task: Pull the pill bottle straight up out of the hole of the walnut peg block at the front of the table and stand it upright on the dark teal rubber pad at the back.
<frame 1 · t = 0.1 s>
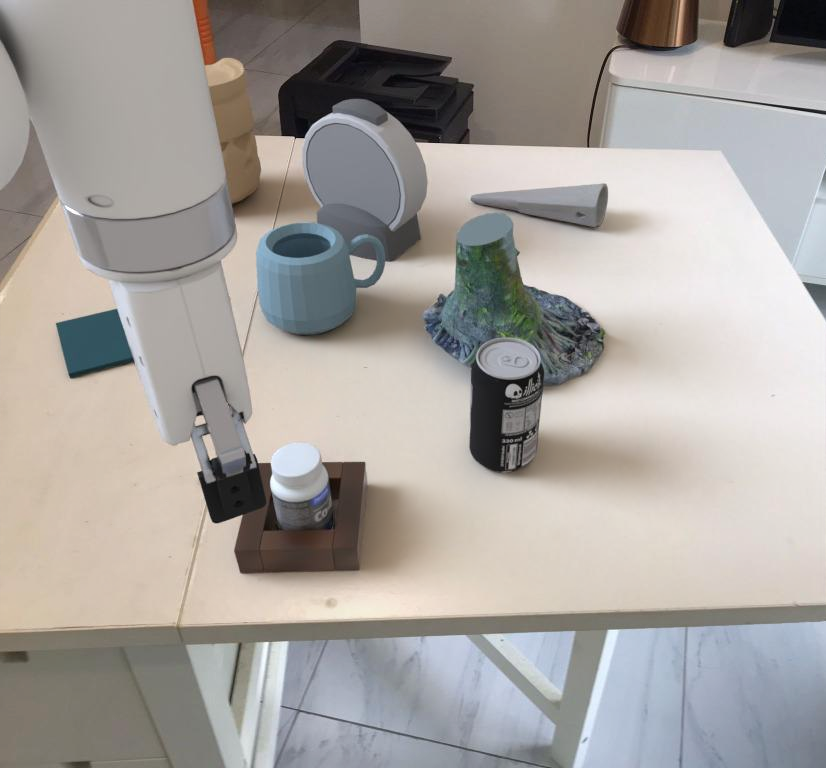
hand: (217, 459, 51), 19 cm above the table, tool pointing down, fingers open, 9 cm apart
alarm clock: (369, 237, 109), on the table
container: (220, 198, 115), on the table
mug: (327, 312, 95), on the table
mat: (112, 339, 89), on the table
long tapered cone: (537, 210, 117), on the table
pill bottle: (307, 527, 71), resting in peg block
peg block: (307, 525, 71), on the table
tree stump: (514, 343, 93), on the table
beverage can: (502, 453, 79), on the table
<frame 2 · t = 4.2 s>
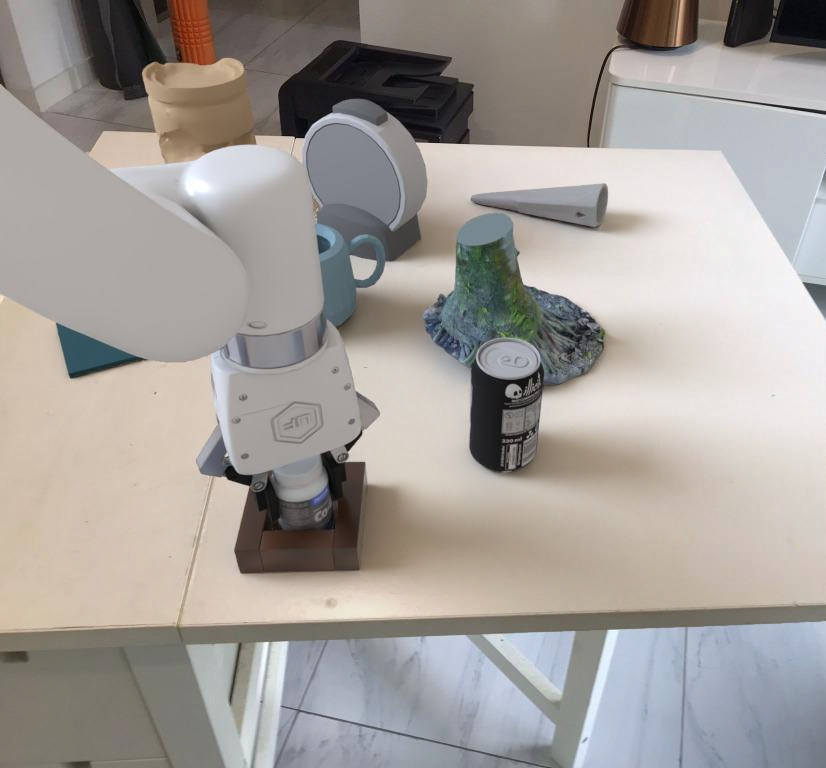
hand: (302, 497, 68), 4 cm above the table, tool pointing down, fingers closed on pill bottle, 4 cm apart
pill bottle: (307, 527, 71), resting in peg block, touching gripper
everything else where it was.
when the fingers open (4 cm above the table, at t = 12.1 s): pill bottle stays where it is, resting on mat.
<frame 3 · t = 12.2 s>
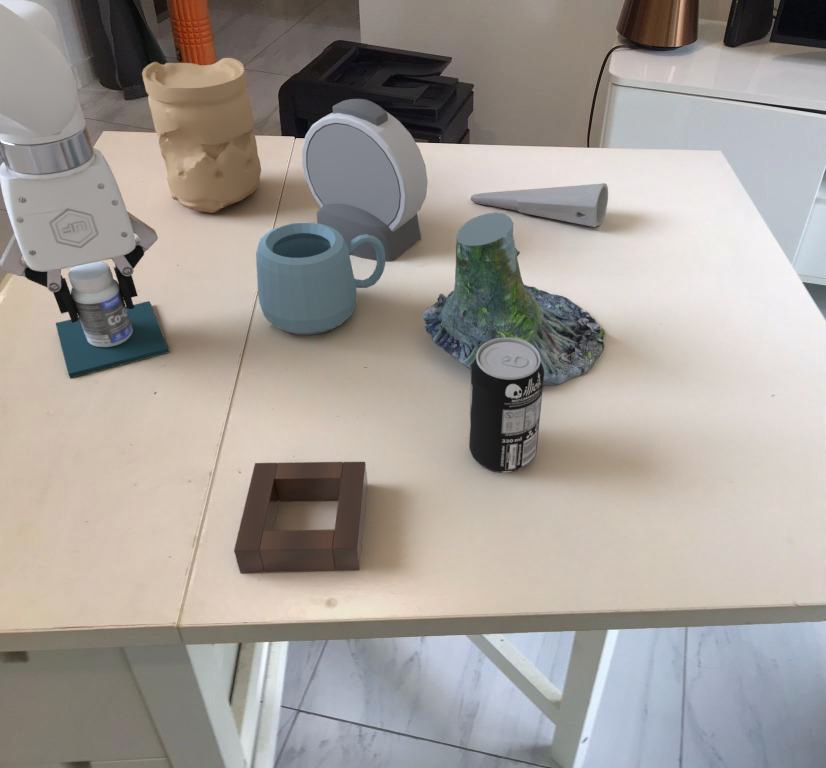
hand: (101, 307, 86), 4 cm above the table, tool pointing down, fingers open, 4 cm apart
pill bottle: (111, 337, 89), resting on mat
everything else where it was.
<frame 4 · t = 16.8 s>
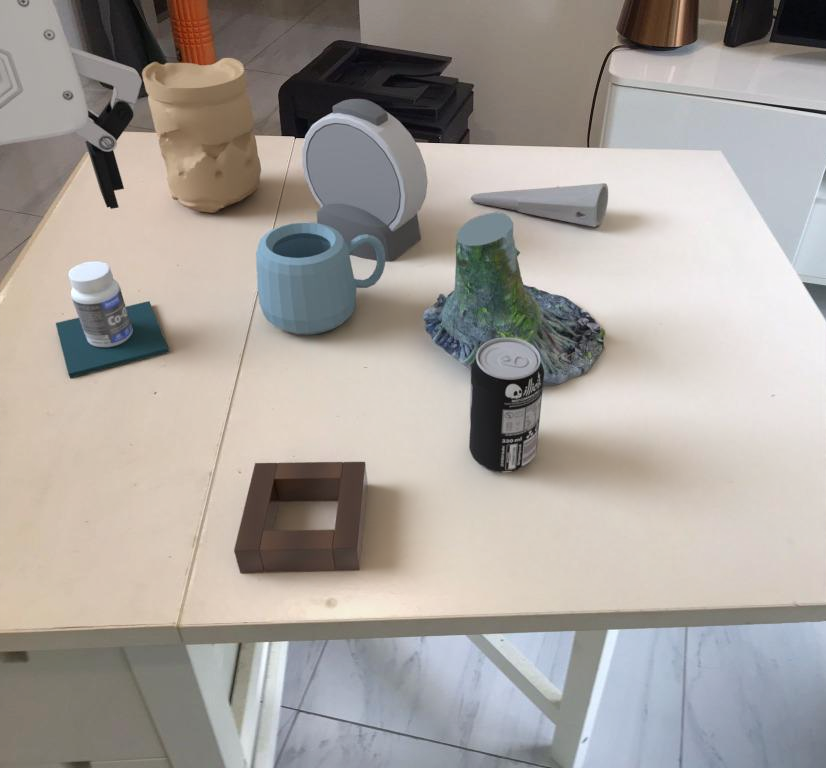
hand: (33, 214, 54), 28 cm above the table, tool pointing down, fingers open, 9 cm apart
nothing on the table moved.
at the end: pill bottle inside the target area on the mat (0.1 cm from its centre), point 0.4 cm above the mat's base; pill bottle tilted 0°; pill bottle touching mat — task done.
